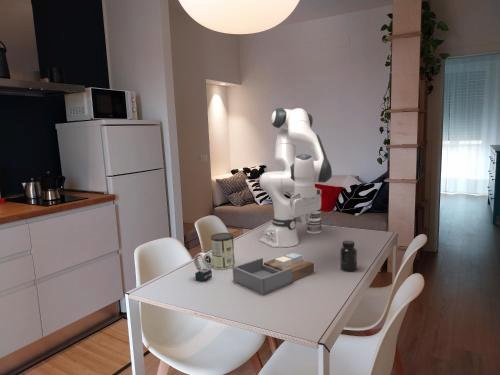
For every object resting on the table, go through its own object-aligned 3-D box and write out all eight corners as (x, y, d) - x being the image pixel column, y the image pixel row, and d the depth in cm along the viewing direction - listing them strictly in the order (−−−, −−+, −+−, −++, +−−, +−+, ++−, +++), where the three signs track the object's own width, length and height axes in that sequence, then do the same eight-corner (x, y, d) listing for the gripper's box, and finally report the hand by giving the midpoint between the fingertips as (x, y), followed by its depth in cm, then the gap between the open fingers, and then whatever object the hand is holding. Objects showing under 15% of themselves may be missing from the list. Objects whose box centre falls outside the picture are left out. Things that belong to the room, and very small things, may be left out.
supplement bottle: (351, 265, 161) (351, 239, 159) (360, 270, 154) (360, 243, 152) (337, 267, 159) (337, 240, 157) (345, 273, 153) (345, 245, 151)
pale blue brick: (285, 261, 158) (285, 255, 158) (293, 258, 161) (293, 252, 161) (293, 264, 154) (293, 258, 154) (301, 261, 157) (301, 255, 157)
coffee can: (219, 260, 174) (217, 231, 172) (238, 262, 170) (237, 233, 168) (208, 268, 165) (206, 237, 163) (228, 270, 161) (226, 239, 159)
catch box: (233, 281, 149) (232, 267, 148) (262, 270, 159) (262, 257, 158) (262, 295, 135) (261, 279, 134) (292, 282, 145) (292, 268, 144)
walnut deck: (264, 271, 158) (263, 262, 158) (287, 263, 167) (286, 254, 166) (290, 281, 146) (290, 272, 145) (314, 272, 155) (313, 263, 154)
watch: (207, 282, 149) (206, 256, 147) (192, 279, 153) (190, 254, 151) (215, 277, 153) (214, 252, 152) (200, 274, 157) (198, 250, 156)
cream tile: (275, 264, 154) (275, 259, 154) (283, 261, 157) (283, 256, 157) (283, 267, 150) (283, 261, 150) (292, 264, 154) (291, 258, 153)
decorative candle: (306, 233, 214) (305, 191, 210) (306, 229, 223) (305, 189, 219) (322, 233, 212) (321, 191, 209) (321, 229, 221) (321, 188, 218)
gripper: (296, 196, 149) (297, 229, 151) (323, 189, 164) (324, 219, 166) (283, 195, 153) (284, 227, 155) (311, 188, 168) (312, 218, 170)
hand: (305, 223), depth 161 cm, fingers closed
